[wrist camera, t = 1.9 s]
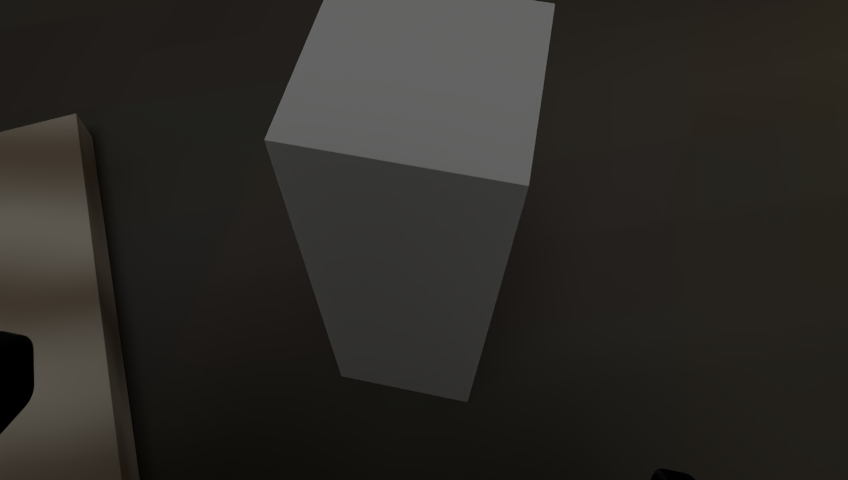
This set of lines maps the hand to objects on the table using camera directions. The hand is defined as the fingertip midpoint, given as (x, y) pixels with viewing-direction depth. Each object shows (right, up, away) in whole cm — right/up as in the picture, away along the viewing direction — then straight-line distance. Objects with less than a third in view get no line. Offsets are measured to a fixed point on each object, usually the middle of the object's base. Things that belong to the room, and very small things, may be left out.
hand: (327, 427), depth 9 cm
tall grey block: (+1, -1, +14) cm, 14 cm away
